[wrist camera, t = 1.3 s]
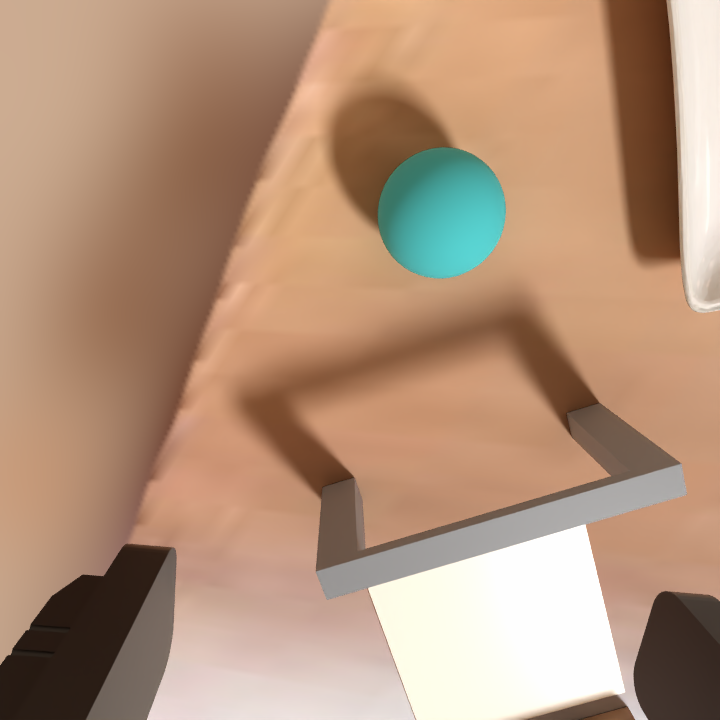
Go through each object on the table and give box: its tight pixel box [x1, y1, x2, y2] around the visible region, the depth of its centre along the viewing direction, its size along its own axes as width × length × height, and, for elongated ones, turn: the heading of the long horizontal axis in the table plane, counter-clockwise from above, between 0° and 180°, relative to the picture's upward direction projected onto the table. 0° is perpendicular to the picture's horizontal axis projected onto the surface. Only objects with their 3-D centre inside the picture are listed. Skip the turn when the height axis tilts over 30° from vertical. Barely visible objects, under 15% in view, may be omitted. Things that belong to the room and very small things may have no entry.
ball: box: [378, 147, 506, 278], centre depth 26 cm, size 6×6×6 cm
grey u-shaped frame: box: [316, 403, 687, 600], centre depth 29 cm, size 17×2×8 cm, turn 108°
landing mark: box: [368, 525, 625, 720], centre depth 36 cm, size 14×14×1 cm
